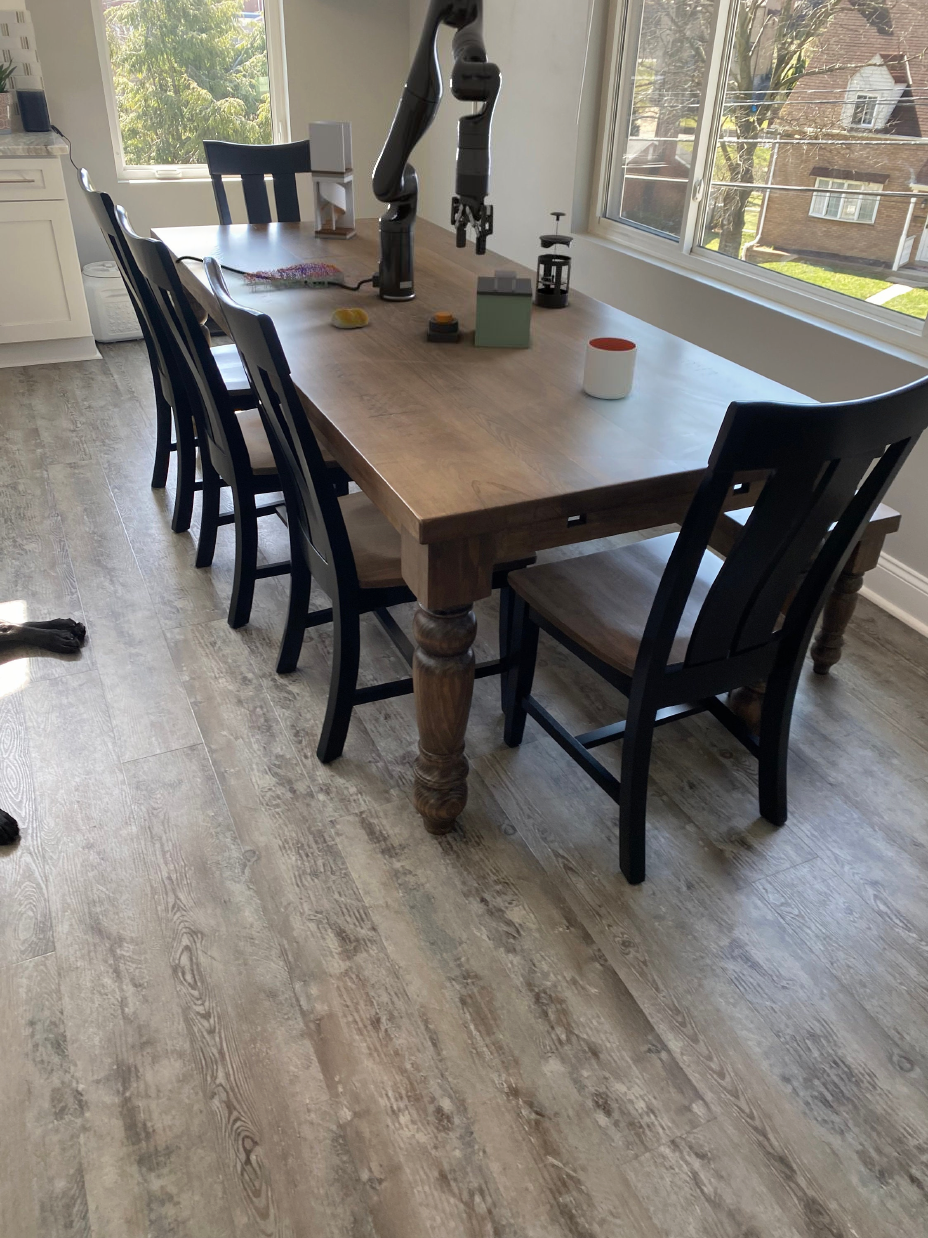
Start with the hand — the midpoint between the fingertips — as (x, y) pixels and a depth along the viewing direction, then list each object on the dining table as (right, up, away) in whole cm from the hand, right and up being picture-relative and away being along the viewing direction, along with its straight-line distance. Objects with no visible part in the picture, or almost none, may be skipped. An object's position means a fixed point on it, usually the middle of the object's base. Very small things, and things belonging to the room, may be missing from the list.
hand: (470, 250), depth 200 cm
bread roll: (-30, -10, +19) cm, 37 cm away
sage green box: (+8, -16, +13) cm, 22 cm away
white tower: (-47, +52, +114) cm, 134 cm away
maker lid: (+8, -6, +6) cm, 12 cm away
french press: (+22, +3, +43) cm, 49 cm away
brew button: (-6, -12, +11) cm, 18 cm away
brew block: (-6, -15, +13) cm, 21 cm away
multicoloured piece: (-49, +12, +52) cm, 73 cm away
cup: (+28, -37, -17) cm, 49 cm away
